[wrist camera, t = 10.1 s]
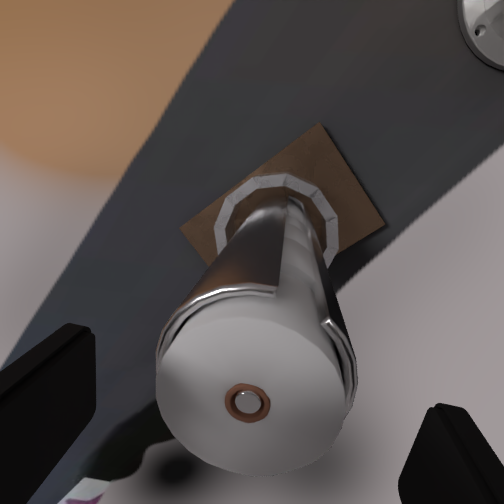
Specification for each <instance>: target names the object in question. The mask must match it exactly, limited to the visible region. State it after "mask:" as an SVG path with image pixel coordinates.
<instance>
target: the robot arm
mask: <svg viewBox="0 0 504 504" xmlns="http://www.w3.org/2000/svg"><path fill="white" fill-rule="evenodd" d="M457 3H458V19H459V24H460V28H461V32H462V34H463V37H464V39H465V41H466V43H467V45H468V46H469V47H470V49H471V50H472V51H473V53H474V54H475V55H476V56H477V57H478V58H480V59H481V60H482V61H483V62H485V63H486V64H488V65H490V66H493V67H495V68H497V69H500V70H504V0H457ZM475 32H477V36H476V35H475ZM95 410H96V355H95V335H94V334H93V333H91V330H90V328H89V327H86V326H81V325H76V324H72V323H67V324H65V325H63V326H62V327H61V328H59V329H58V330H57V331H55V332H54V333H53V334H51V335H50V336H48V337H47V338H46V339H44V340H43V341H42V342H40V343H39V344H38V345H36V346H35V347H33V348H32V349H31V350H29V351H28V352H27V353H25V354H24V355H23V356H21V357H20V358H18V359H17V360H16V361H14V362H13V363H12V364H10V365H9V366H8V367H6V368H5V369H3V370H2V371H1V372H0V504H26V503H27V502H28V501H29V499H30V498H31V497H32V496H33V494H34V493H35V492H36V490H37V489H38V488H39V486H40V485H41V484H42V483H43V481H44V480H45V479H46V477H47V476H48V475H49V474H50V472H51V471H52V470H53V468H54V467H55V466H56V465H57V463H58V462H59V461H60V459H61V458H62V457H63V455H64V454H65V453H66V452H67V450H68V449H69V448H70V446H71V445H72V444H73V443H74V441H75V440H76V439H77V437H78V436H79V435H80V433H81V432H82V431H83V430H84V428H85V427H86V426H87V424H88V423H89V422H90V420H91V419H92V417H93V415H94V413H95ZM398 491H399V496H400V499H401V502H402V504H504V466H503V464H502V463H501V461H500V460H499V459H498V457H497V455H496V454H495V452H494V451H493V450H492V448H491V446H490V445H489V443H488V442H487V440H486V439H485V437H484V436H483V435H482V433H481V431H480V430H479V429H478V427H477V425H476V424H475V422H474V421H473V420H472V418H471V417H470V415H469V414H468V412H467V411H466V410H465V409H463V408H461V407H457V406H452V405H448V404H442V403H438V404H436V405H435V407H430V408H429V409H428V410H427V413H426V415H425V417H424V420H423V422H422V425H421V427H420V429H419V432H418V434H417V437H416V439H415V441H414V444H413V446H412V448H411V451H410V453H409V456H408V458H407V460H406V463H405V465H404V468H403V470H402V472H401V475H400V477H399V480H398Z"/></svg>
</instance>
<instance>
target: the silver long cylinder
mask: <svg viewBox="0 0 504 504" xmlns="http://www.w3.org/2000/svg"><path fill="white" fill-rule="evenodd" d="M357 385H358V377H357V364H356V357H355V354H354V351H353V348H352V345H351V341H350V338H349V335H348V332H347V329H346V326H345V322H344V319H343V316H342V313H341V310H340V307H339V304H338V301H337V297H336V294H335V291H334V288H333V285H332V282H331V279H330V275H329V272H328V269H327V266H326V263H325V260H324V257H323V254H322V250H321V247H320V244H319V241H318V238H317V235H316V232H315V228H314V225H313V222H312V219H311V216H310V214H309V211H308V209H307V208H306V207H305V205H304V204H303V203H302V202H300V201H299V200H298V199H296V198H294V197H292V196H289V195H282V194H279V195H272V196H270V197H268V198H265V199H264V200H262V201H261V202H260V203H259V204H258V205H257V206H256V207H255V208H254V210H253V211H252V212H251V214H250V215H249V216H248V218H247V219H246V220H245V221H244V223H243V224H242V225H241V227H240V228H239V229H238V230H237V232H236V233H235V234H234V236H233V237H232V238H231V239H230V241H229V242H228V243H227V245H226V246H225V247H224V248H223V250H222V251H221V252H220V254H219V255H218V256H217V257H216V259H215V260H214V261H213V263H212V264H211V265H210V267H209V268H208V269H207V270H206V272H205V273H204V274H203V276H202V277H201V278H200V279H199V281H198V282H197V283H196V285H195V286H194V287H193V288H192V290H191V291H190V292H189V294H188V295H187V296H186V297H185V299H184V300H183V301H182V303H181V304H180V305H179V306H178V308H177V309H176V310H175V312H174V313H173V315H172V316H171V317H170V319H169V320H168V322H167V323H166V324H165V326H164V327H163V329H162V333H161V336H160V339H159V342H158V345H157V348H156V399H157V403H158V406H159V409H160V412H161V416H162V418H163V419H164V421H165V423H166V424H167V426H168V427H169V429H170V431H171V432H172V434H173V435H174V436H175V437H176V438H177V439H178V440H179V441H180V442H181V443H182V444H183V445H184V446H185V447H186V449H187V450H189V451H190V452H191V453H193V454H194V455H196V456H198V457H199V458H200V459H202V460H203V461H205V462H207V463H209V464H211V465H214V466H217V467H220V468H222V469H225V470H228V471H231V472H235V473H239V474H243V475H247V476H274V475H278V474H282V473H285V472H289V471H293V470H296V469H298V468H301V467H303V466H306V465H308V464H311V463H313V462H315V461H316V460H318V459H319V458H320V457H321V456H322V455H323V454H324V453H326V452H327V451H328V450H329V449H330V448H331V447H332V445H333V443H334V441H335V439H336V437H337V436H338V434H339V432H340V430H341V429H342V424H343V420H344V419H345V417H346V416H347V414H348V413H349V411H350V409H351V408H352V406H353V402H354V398H355V393H356V389H357Z"/></svg>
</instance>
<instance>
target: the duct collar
mask: <svg viewBox="0 0 504 504" xmlns="http://www.w3.org/2000/svg"><path fill="white" fill-rule="evenodd" d="M279 194H282V195H289V196H292V197H294V198H296V199H298V200H299V201H300V202H302V203H303V204H304V205H305V207H306V208H307V209H308V211H309V214H310V216H311V219H312V222H313V225H314V228H315V232H316V235H317V238H318V241H319V244H320V247H321V250H322V254H323V257H324V260H325V263H326V266H327V269H328V267H329V266H330V264H331V262H332V260H333V259H334V257H335V255H336V254H338V253H340V252H341V251H343V250H344V249H346V248H348V247H349V246H351V245H353V244H354V243H356V242H357V241H359V240H361V239H362V238H364V237H366V236H367V235H369V234H370V233H372V232H374V231H375V230H377V229H379V228H380V227H382V226H383V225H385V223H384V221H383V220H382V218H381V217H380V215H379V214H378V212H377V210H376V209H375V207H374V206H373V204H372V203H371V201H370V200H369V198H368V196H367V195H366V193H365V192H364V190H363V189H362V187H361V186H360V184H359V182H358V181H357V179H356V178H355V176H354V175H353V173H352V172H351V170H350V168H349V167H348V165H347V164H346V162H345V161H344V159H343V158H342V156H341V154H340V153H339V151H338V150H337V148H336V147H335V145H334V144H333V142H332V140H331V139H330V137H329V136H328V134H327V133H326V131H325V129H324V128H323V126H322V125H321V123H320V122H319V123H317V124H316V125H315V126H313V127H312V128H311V129H309V130H308V131H307V132H306V133H304V134H303V135H302V136H300V137H299V138H298V139H296V140H295V141H294V142H292V143H291V144H290V145H288V146H287V147H286V148H284V149H283V150H282V151H280V152H279V153H278V154H276V155H275V156H274V157H273V158H271V159H270V160H269V161H267V162H266V163H265V164H263V165H262V166H261V167H259V168H258V169H257V170H255V171H254V172H253V173H251V174H250V175H249V176H247V177H246V178H245V179H244V180H242V181H241V182H240V183H238V184H237V185H236V186H234V187H233V188H232V189H230V190H229V191H228V192H226V193H225V194H224V195H222V196H221V197H220V198H218V199H217V200H216V201H215V202H213V203H212V204H211V205H209V206H208V207H207V208H205V209H204V210H203V211H201V212H200V213H199V214H197V215H196V216H195V217H193V218H192V219H191V220H189V221H188V222H187V223H186V224H184V225H183V226H182V227H180V228H179V229H180V230H181V231H182V233H183V234H184V235H185V236H186V238H187V239H188V240H189V242H190V243H191V244H192V245H193V247H194V248H195V249H196V251H197V252H198V253H199V254H200V256H201V257H202V258H203V260H204V261H205V262H206V263H207V265H208V266H209V267H210V265H211V264H212V263H213V261H214V260H215V259H216V257H217V256H218V255H219V254H220V252H221V251H222V250H223V248H224V247H225V246H226V245H227V243H228V242H229V241H230V239H231V238H232V237H233V236H234V234H235V233H236V232H237V230H238V229H239V228H240V227H241V225H242V224H243V223H244V221H245V220H246V219H247V218H248V216H249V215H250V214H251V212H252V211H253V210H254V208H255V207H256V206H257V205H258V204H259V203H260V202H261V201H262V200H264V199H265V198H268V197H270V196H272V195H279Z"/></svg>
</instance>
